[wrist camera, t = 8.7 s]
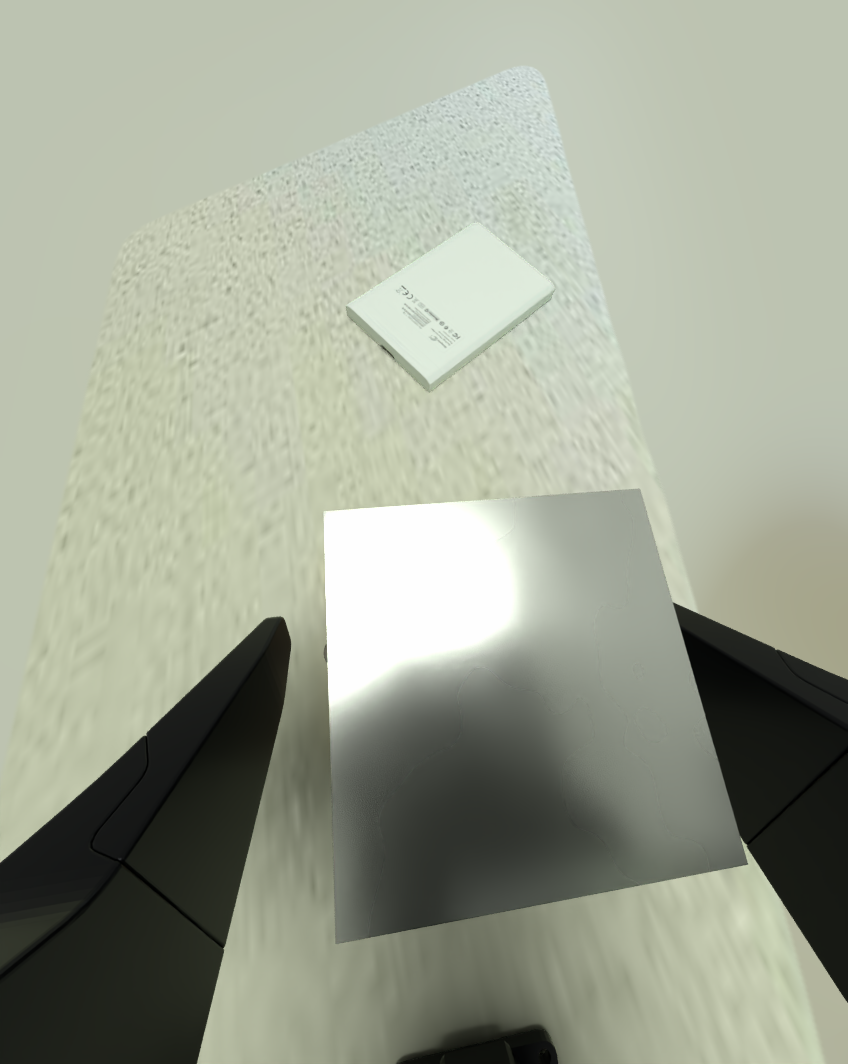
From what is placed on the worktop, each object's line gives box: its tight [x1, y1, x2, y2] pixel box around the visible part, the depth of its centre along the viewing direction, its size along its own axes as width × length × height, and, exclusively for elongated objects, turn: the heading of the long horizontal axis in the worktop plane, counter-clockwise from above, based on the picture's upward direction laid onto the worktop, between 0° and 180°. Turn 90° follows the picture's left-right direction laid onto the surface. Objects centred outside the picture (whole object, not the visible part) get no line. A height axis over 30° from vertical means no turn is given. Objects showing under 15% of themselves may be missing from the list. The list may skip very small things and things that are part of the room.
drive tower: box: [324, 489, 748, 944], centre depth 11 cm, size 5×5×13 cm
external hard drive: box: [346, 222, 555, 392], centre depth 24 cm, size 2×8×12 cm
